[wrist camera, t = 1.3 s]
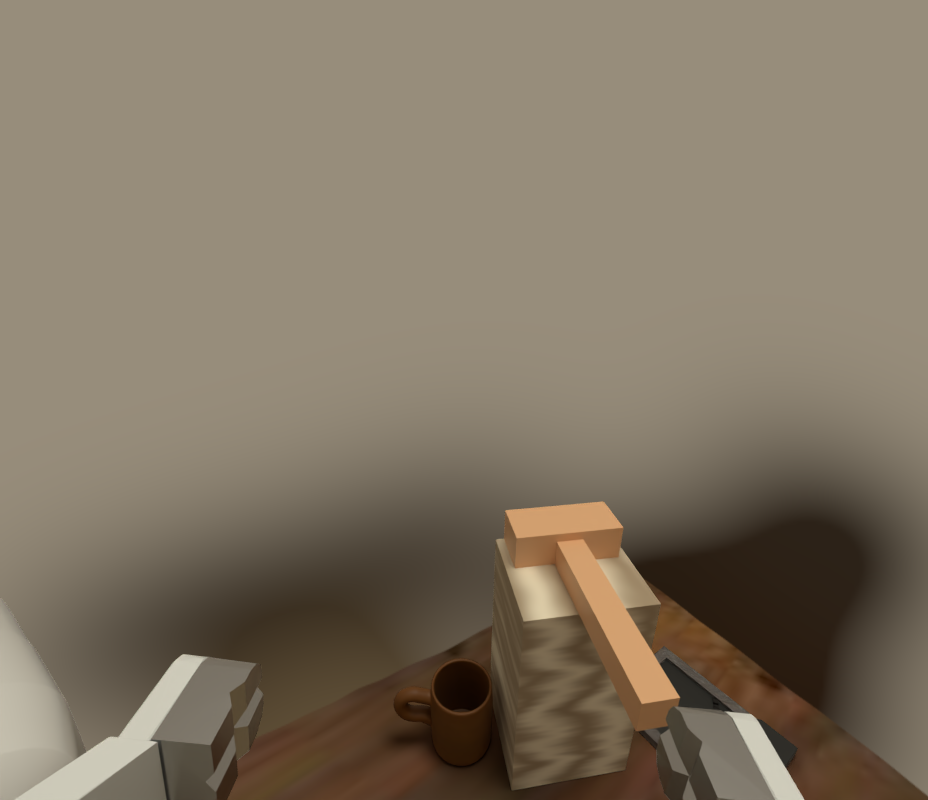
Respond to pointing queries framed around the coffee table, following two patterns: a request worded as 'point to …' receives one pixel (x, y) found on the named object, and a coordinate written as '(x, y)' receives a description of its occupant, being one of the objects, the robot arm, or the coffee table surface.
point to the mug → (453, 710)
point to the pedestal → (558, 674)
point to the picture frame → (707, 701)
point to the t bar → (595, 598)
